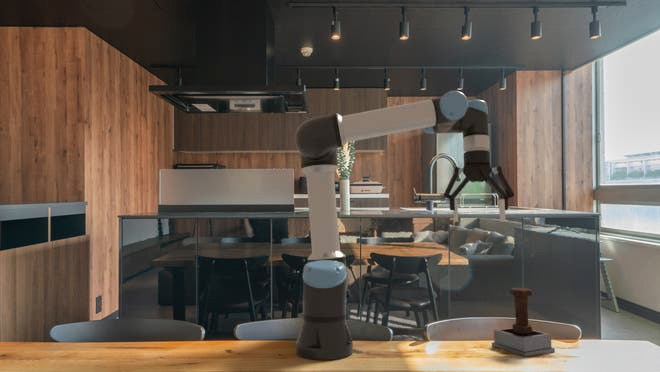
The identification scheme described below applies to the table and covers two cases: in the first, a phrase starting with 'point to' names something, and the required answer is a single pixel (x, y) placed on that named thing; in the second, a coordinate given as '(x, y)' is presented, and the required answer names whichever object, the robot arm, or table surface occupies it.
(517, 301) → the brown flared column
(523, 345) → the rectangular open box
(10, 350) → the table surface
